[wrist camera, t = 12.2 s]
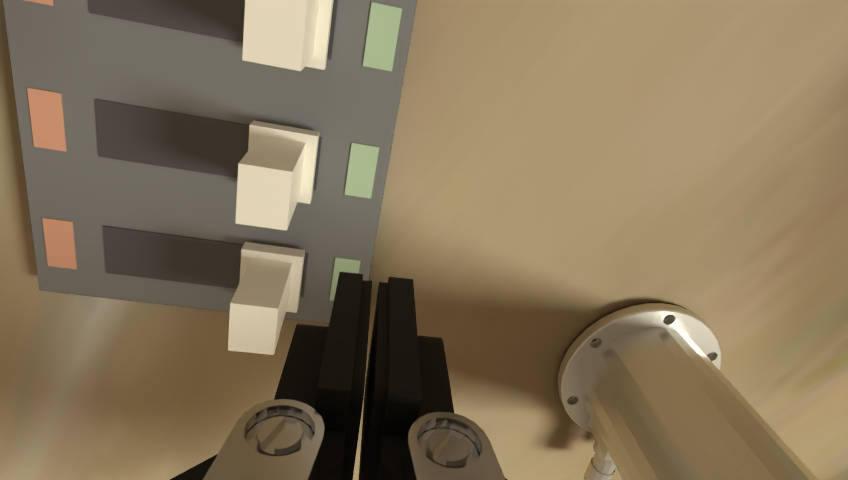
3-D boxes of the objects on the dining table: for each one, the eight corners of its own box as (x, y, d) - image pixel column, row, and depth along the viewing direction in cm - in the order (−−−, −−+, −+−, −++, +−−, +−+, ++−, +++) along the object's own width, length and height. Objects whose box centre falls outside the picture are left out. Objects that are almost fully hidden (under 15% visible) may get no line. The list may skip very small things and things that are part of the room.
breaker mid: (311, 197, 31) (298, 241, 25) (249, 188, 30) (221, 230, 25) (319, 131, 29) (306, 163, 24) (253, 120, 29) (224, 150, 23)
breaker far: (298, 304, 34) (284, 363, 28) (241, 297, 33) (215, 356, 28) (305, 249, 32) (290, 302, 27) (245, 241, 32) (218, 293, 26)
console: (360, 314, 37) (360, 328, 35) (53, 278, 34) (38, 291, 32) (420, -28, 28) (422, -29, 26) (7, -121, 25) (-15, -128, 23)
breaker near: (325, 67, 28) (313, 86, 22) (256, 54, 27) (226, 69, 22) (335, -15, 26) (324, -16, 21) (261, -31, 26) (230, -37, 20)
